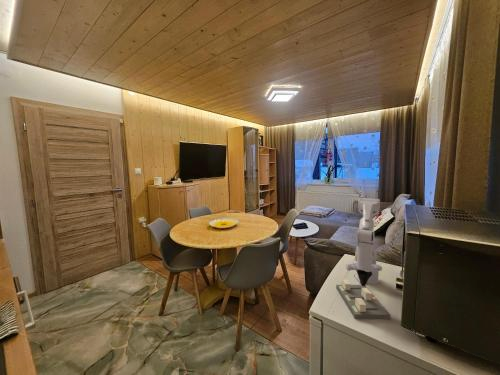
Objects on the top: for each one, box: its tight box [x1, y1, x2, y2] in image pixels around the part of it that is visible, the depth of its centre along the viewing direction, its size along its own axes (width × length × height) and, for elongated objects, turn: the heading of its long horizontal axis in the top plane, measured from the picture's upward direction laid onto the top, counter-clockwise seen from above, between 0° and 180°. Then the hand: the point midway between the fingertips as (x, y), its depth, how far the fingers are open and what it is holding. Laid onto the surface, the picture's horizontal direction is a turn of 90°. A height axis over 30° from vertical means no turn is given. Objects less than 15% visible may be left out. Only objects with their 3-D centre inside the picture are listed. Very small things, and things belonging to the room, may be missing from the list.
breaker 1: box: [341, 278, 352, 290], centre depth 100 cm, size 2×4×3 cm, turn 178°
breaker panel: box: [335, 284, 391, 320], centre depth 93 cm, size 14×20×2 cm
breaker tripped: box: [361, 287, 373, 300], centre depth 92 cm, size 2×4×3 cm, turn 178°
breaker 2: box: [355, 298, 366, 312], centre depth 86 cm, size 2×4×3 cm, turn 178°
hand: (362, 284), depth 92 cm, fingers closed
